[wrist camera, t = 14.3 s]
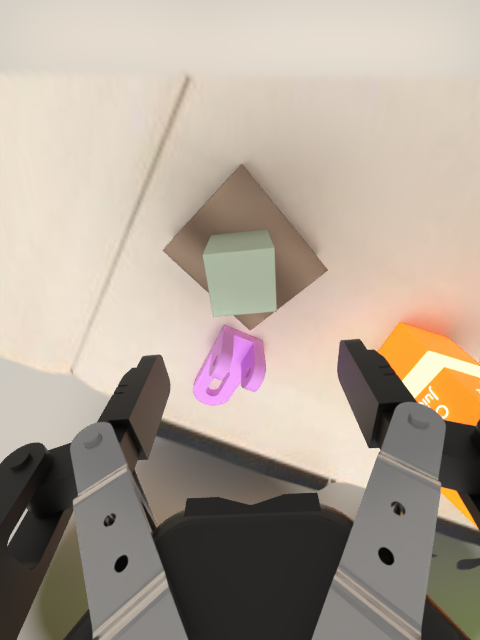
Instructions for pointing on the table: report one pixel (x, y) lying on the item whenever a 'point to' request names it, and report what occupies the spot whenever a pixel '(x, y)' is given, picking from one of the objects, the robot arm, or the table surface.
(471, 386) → the orange juice
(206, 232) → the plate
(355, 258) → the table surface
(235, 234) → the sage block
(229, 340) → the bracket
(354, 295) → the table surface
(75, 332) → the table surface
